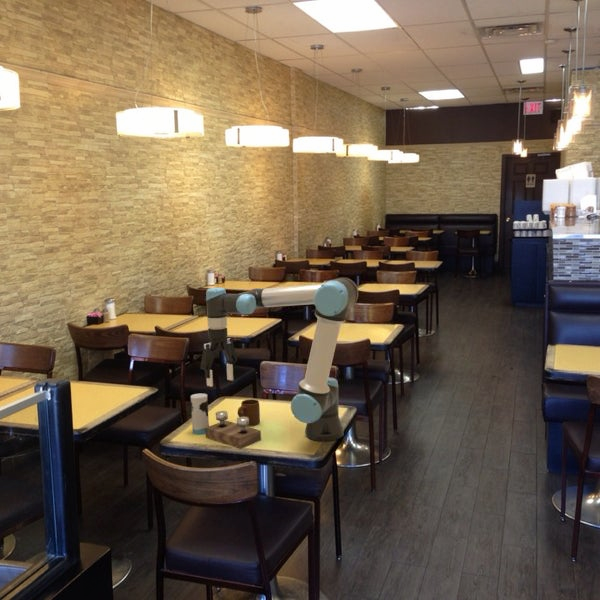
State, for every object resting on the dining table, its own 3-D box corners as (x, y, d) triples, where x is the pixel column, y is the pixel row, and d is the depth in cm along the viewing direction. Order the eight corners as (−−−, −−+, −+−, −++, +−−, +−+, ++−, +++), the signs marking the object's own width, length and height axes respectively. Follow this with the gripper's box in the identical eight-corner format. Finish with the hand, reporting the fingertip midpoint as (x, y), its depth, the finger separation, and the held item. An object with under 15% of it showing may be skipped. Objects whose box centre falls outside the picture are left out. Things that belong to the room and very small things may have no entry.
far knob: (230, 426, 266) (229, 412, 266) (221, 429, 263) (221, 415, 262) (222, 424, 269) (222, 410, 269) (214, 427, 266) (213, 413, 265)
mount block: (261, 440, 260) (260, 430, 260) (240, 448, 252) (240, 438, 252) (226, 429, 273) (225, 420, 273) (205, 437, 265) (205, 427, 265)
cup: (212, 430, 273) (210, 394, 271) (201, 435, 268) (199, 399, 266) (200, 427, 277) (198, 392, 275) (189, 432, 272) (187, 396, 269)
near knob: (251, 433, 259) (251, 418, 258) (243, 436, 255) (242, 421, 254) (243, 430, 262) (242, 415, 261) (234, 433, 258) (234, 418, 257)
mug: (246, 430, 272) (245, 408, 270) (231, 427, 276) (230, 405, 274) (263, 422, 281) (262, 400, 280) (249, 419, 286) (248, 398, 284)
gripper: (232, 322, 271) (234, 375, 274) (188, 331, 254) (191, 387, 258) (245, 323, 266) (247, 378, 270) (201, 333, 249) (204, 391, 253)
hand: (220, 382), depth 264 cm, fingers open, 10 cm apart
